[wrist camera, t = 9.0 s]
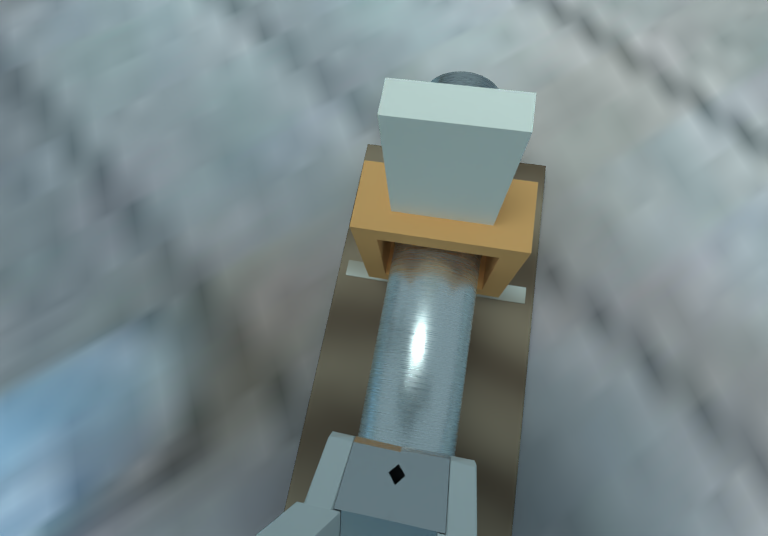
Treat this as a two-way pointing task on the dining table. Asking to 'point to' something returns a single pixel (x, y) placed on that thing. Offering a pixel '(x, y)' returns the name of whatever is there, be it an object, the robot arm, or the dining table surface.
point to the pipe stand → (481, 387)
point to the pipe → (423, 340)
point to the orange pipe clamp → (449, 178)
